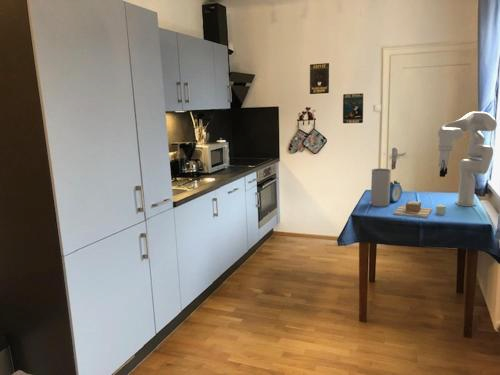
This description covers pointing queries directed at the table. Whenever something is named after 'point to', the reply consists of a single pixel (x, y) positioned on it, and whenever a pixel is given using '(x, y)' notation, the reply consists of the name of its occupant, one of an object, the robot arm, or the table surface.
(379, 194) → the cylinder vase
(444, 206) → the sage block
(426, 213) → the build board
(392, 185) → the alarm clock
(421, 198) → the table surface
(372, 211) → the table surface
